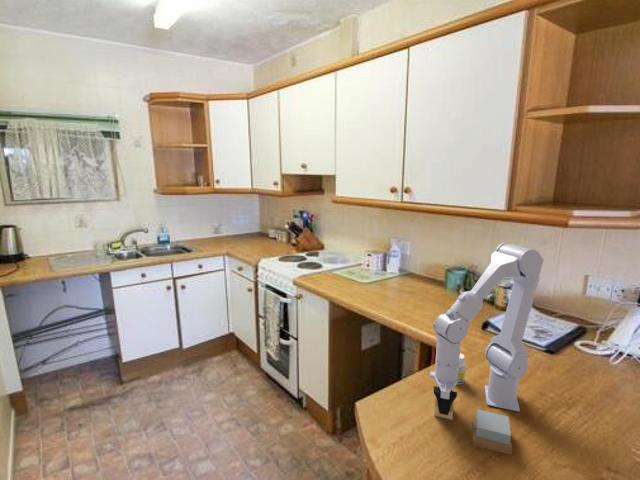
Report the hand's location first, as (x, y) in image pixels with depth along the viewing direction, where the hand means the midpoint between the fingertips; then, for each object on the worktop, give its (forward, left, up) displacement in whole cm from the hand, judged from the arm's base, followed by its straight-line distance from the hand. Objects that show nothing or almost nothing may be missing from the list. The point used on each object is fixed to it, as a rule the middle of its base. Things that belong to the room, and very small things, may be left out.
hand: (443, 407), depth 96 cm
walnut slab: (+6, +11, -2) cm, 13 cm away
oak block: (0, 0, -1) cm, 1 cm away
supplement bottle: (-17, +3, -2) cm, 17 cm away
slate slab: (+6, +11, 0) cm, 13 cm away
